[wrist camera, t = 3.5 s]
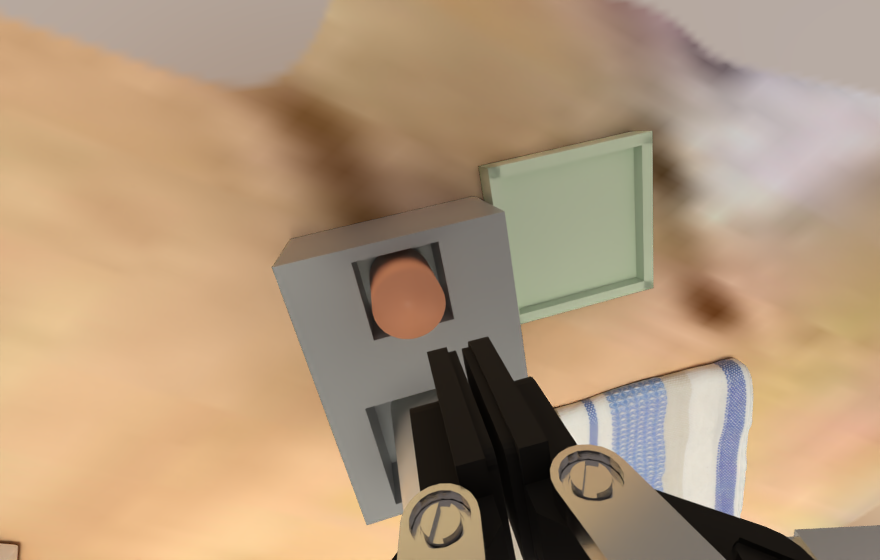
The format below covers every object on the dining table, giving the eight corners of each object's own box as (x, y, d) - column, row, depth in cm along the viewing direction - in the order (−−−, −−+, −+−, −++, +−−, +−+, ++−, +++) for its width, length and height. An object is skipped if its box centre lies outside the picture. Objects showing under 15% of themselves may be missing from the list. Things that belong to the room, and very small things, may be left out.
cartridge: (464, 359, 23) (575, 591, 11) (477, 426, 25) (587, 687, 13) (381, 382, 23) (408, 650, 11) (401, 449, 24) (442, 742, 13)
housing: (474, 195, 22) (504, 211, 18) (510, 414, 28) (540, 470, 23) (290, 239, 21) (271, 267, 17) (365, 457, 27) (366, 525, 22)
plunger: (423, 240, 20) (437, 262, 16) (435, 296, 21) (451, 328, 17) (362, 255, 19) (363, 281, 16) (377, 311, 21) (382, 347, 17)
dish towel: (721, 512, 37) (749, 540, 34) (469, 598, 34) (479, 636, 31) (735, 345, 30) (771, 365, 28) (428, 435, 28) (436, 466, 25)
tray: (632, 131, 23) (652, 130, 21) (635, 278, 26) (653, 287, 24) (478, 166, 22) (487, 168, 20) (501, 314, 25) (511, 326, 24)
